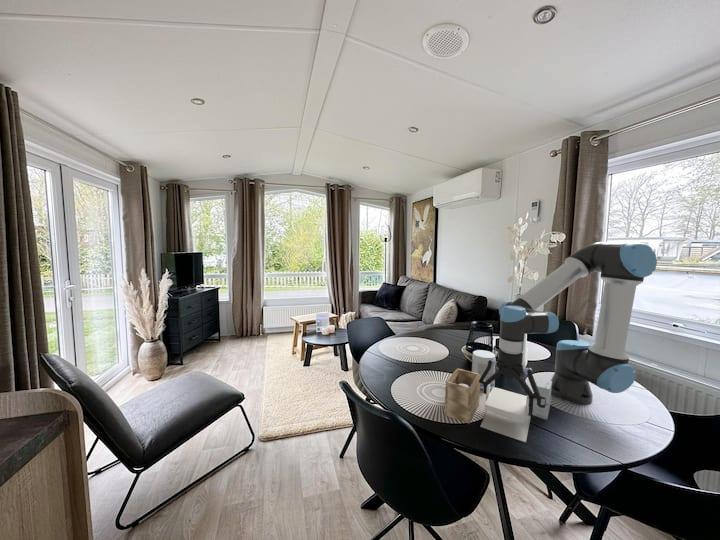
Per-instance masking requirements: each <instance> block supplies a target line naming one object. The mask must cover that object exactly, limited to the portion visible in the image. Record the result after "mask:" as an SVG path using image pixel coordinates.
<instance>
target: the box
mask: <svg viewBox="0 0 720 540" xmlns="http://www.w3.org/2000/svg"><path fill="white" fill-rule="evenodd" d="M479 379H480V374H478V373H474V372H472V371H470V370H465V369H463V368H456V369H454V371H453V372H452V374H451V375H450V376H449V378H447V380H446V381H445V393H444V395H445V396H444V397H445V400H444V416H447V417H450V418H453V419H455V420H457V421H461V422H463V423H466V424H471V421H473V417H474V416H475V414H476V412H477V410H478V408H479V406H480V390H481V389H480V383H479ZM459 384H466V385H468V386H469V387H466V386H463V385H459Z"/></svg>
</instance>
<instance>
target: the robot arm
mask: <svg viewBox="0 0 720 540" xmlns="http://www.w3.org/2000/svg"><path fill="white" fill-rule="evenodd" d="M657 258H658V257H657V255H656V252H655V250H653V248H652V247H651V246H650V245H648V244H645V243H643V242H637V241H636V242H635V241H598V242H593V243H591V244H589V245H586V246H584V247H582V248H580V249H578V250H577V251H575V252H572V254H570V255H569V256H568V257H566V258H565V259H564V263H563V264H561V265H560V266H558V268H556V269H555V270H554V271H552V272H551V273H550V274H548V275H547V276H546V277H544V278H542V280H540V281H539V282H538V283H536V284H535V285H533V286H532V287H531V288H530V289H528V290H527V291H526V292H525V293H523V294H522V295H521V296H519V297H518V298H516V299H515V300H514V301H505V302H503V303H501V304H500V306H499V309H498V314H499V316H500V323H499V324H500V326H499V327H500V330H499V343H498V347H499V349H498V355H497V357H498V358H497V360H495V361H494V360H493V359H489V361H488V366H487V368H486V370H485V371H484V373H483V374H482V376H481V378H480V379H479V383H482V384H483V385H484V389H483V394H485V401H486V400H487V398H488V396H489V394H490V392H491V389H490V383H491V382H492V381H493V380H494V379H497V378H498V377H500V376H501V375H503V376H505V377H509V378H512V379H514V378H515V379H516V380H517V382H518V383H519V384H520V386H521V388H522V389H523V390H524V392H525V394H526V396H527V399H526V413H525V416H526V417H528V415H529V411H530V410H529V409H530V408H532V409H533V400H534V399H535V398H537V399H539V398H540V393H539V390H538V388H537V385H536V381H535V378H534V376H533V368H532V367H531V366H530V367H525V366H523V357H524V356H523V352H524V344H525V343H524V342H525V335H530V334H531V335H533V334H537V335H538V334H545V335H546V334H552V333H555V332H557V331H558V329H559V326H560V321H559V318H558V317H557V316H558V315H556V314H555V313H554V312H552V311H545V310H543V311H539V309H540V308H541V307H543V306H544V305H545V304H547V303H548V302H549V301H551V300H552V299H553V298H554V297H556V296H557V295H558V294H560V293H561V292H562V291H564V290H565V289H566V288H568V287H569V286H571V285H572V284H573V283H575V282H576V281H577V280H579V278H585V277H587V276H589V275H590V274H593V273H599V272H600V278H601V280H602V281H603V282H604V284H603V290H602V298H601V301H600V309H599V314H598V320H597V327H596V331H595V338H594V343H593V344H592V345H591V343H589V342H586V341H582V340H573V339H565V340H564V339H563V340H559V341H558V342H557V343H556V349H555V358H554V359H555V361H554V372H553V373H554V374H553V375H552V377H551V379H550V381H552V388H551V396H553V397H556V398H557V399H558V400H559V399H560V400H562V401H565V402H569V403H572V404H577V405H588V404H591V403H592V402H593V391H592V389H591V386H590V384H592V385H594V386H596V387H598V388H599V389H601V390H605V391H606V392H608V393H613V394H619V393H623V392H625V391H626V390H629V389H630V387H632V386H633V384H634V383H635V381H636V377H637V375H636V374H637V373H636V370H635V368H634V367H633V366H631V364H629V363H630V362H629V361H630V356H629V355H628V353H626V352H625V350H626V345H627V338H628V333H629V329H630V324H631V317H632V313H633V307H634V301H635V297H636V296H635V295H636V289H637V287H638V286H639V285H641V284H642V283H644V281H645V280H644V279H645V278H647V277H649V276H651V275H652V274H653V273H654V271H655V270H656V269H657V265H658V260H657ZM494 365H495V366H496V367H497V369H498V370H495V373H494V374H493V375H492V376H491V377H489V378H488V379H487V380H484V378H485V377H486V375H487V374H488V372H489V370H490V369H491V367H492V366H494ZM522 372H524V374H525V375H527V378H528V381H529V383H530V384H529V385H530V386H529V385H528V383H527V382H526V381H525V378H523V376H522ZM530 387H531V388H530Z"/></svg>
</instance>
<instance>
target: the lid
mask: <svg viewBox="0 0 720 540" xmlns="http://www.w3.org/2000/svg"><path fill="white" fill-rule="evenodd" d="M526 399H527V395H523V394H521V393H517V392H513V391H510V390H506V389H503V388H499V387H495V386H494V387H493V388H492V389H490V394H489V396H488V398H487V400H486V399H485V402H484V407H483V408H484V411H486V412H487V411H490V412H493V413H494V414H497V415H501V416H504V417H507V418H510V419H513V420H517V421H521V422H524V418H525V413H526Z"/></svg>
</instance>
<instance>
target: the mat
mask: <svg viewBox="0 0 720 540" xmlns="http://www.w3.org/2000/svg"><path fill="white" fill-rule="evenodd" d="M531 417H532V416H531V415H529V414H528V417H526V416H525V418H524V422H521V421H517V420H513V419H510V418H507V417H504V416H501V415H497V414H494V413H493V412H490V411H487V410H486V412H485V415H484V417H483V419H482V421H481V424H480V428H483V429H486V430H489V431H491V432H494V433H497V434H500V435H502V436H506V437H508V438H511V439H514V440H517V441H520V442H523V443H525V444H526V443H527V439H528V438H527V437H528V434H529V428H530V423H531Z"/></svg>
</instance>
